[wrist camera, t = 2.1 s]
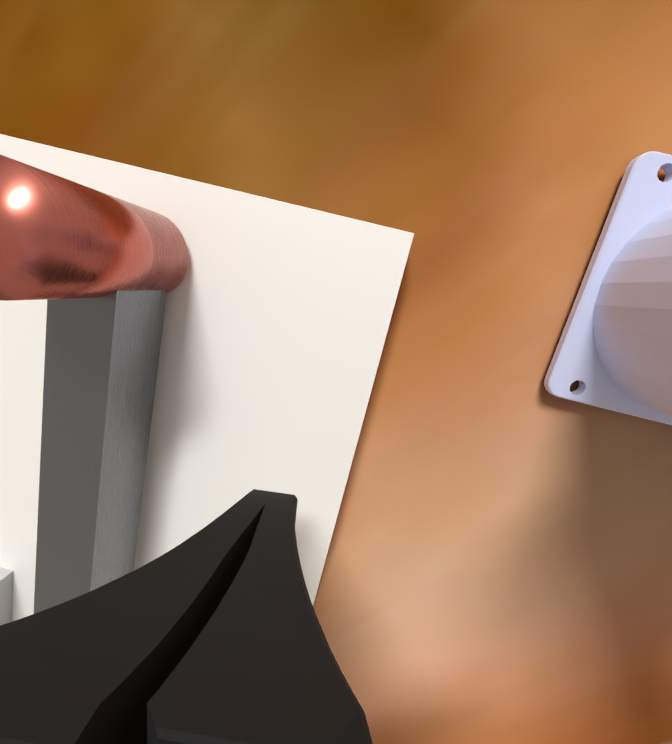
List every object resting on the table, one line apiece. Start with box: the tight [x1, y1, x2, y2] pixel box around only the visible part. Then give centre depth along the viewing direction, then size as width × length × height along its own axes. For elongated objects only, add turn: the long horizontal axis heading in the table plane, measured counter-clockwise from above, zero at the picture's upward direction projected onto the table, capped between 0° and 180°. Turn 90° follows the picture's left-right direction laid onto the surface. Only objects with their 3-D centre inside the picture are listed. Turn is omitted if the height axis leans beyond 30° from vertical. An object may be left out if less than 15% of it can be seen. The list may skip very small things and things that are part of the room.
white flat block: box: [0, 134, 414, 625], centre depth 13 cm, size 16×22×4 cm
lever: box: [0, 155, 188, 614], centre depth 11 cm, size 21×4×5 cm, turn 167°
